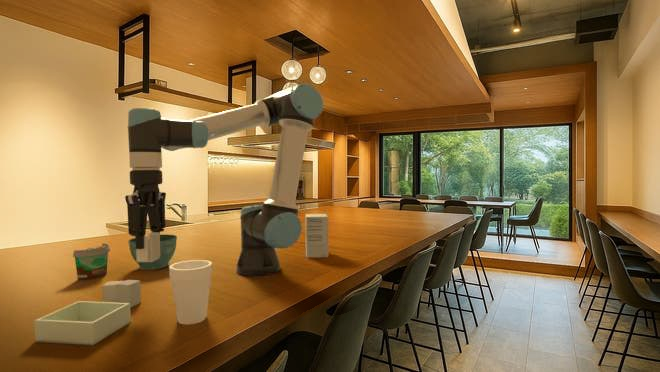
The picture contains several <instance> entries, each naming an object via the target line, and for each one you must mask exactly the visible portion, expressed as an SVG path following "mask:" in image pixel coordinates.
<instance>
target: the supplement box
mask: <svg viewBox="0 0 660 372" xmlns="http://www.w3.org/2000/svg"><path fill="white" fill-rule="evenodd" d="M304 221H305V227H304V228H305V237H304V238H305V257H306V259H308V258H311V259H312V258H329V216H328V215H327V213H307V214H305V219H304Z"/></svg>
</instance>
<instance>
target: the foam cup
mask: <svg viewBox="0 0 660 372" xmlns="http://www.w3.org/2000/svg"><path fill="white" fill-rule="evenodd" d="M168 270H169V271H168V274H169V279H170V283H171V289H172V294H173V300H174V306H175V311H176V317H177V323H178V324H180V325H195V324H198V323H201V322H203V321H204V320H206V319H207V313H208V307H209V306H208V305H209V298H210V297H209V296H210V289H211V280H212V274H213V262H212V261H210V260H206V259H191V260H190V259H189V260H184V261H178V262H175V263H172V264H170V265H168Z"/></svg>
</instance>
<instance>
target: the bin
mask: <svg viewBox="0 0 660 372" xmlns="http://www.w3.org/2000/svg"><path fill="white" fill-rule="evenodd" d="M131 320H132V319H131V308H130V303H114V302H103V301H92V300H91V301H90V300H89V301H88V300H87V301H85V300H84V301H83V300H78V301H76V302H73V303H71V304H69V305H66V306H65V307H64V306H63V307H61V308H60V309H56V310H55V311H53V312H51V313H48V314H46V315H44V316H42V317H39V318H36V319H34V342H35V343H48V344H49V343H50V344H67V345H82V346H83V345H85V346H94V345H96V344H98V343H99V342H101V341H102V340H104V339H106V338H107V337H109V336H110V335H112V334H114V333H116V332H117V331H118V330H120V329H122V328H124V327H126V326H127V325H128V324H130V323H131Z"/></svg>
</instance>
